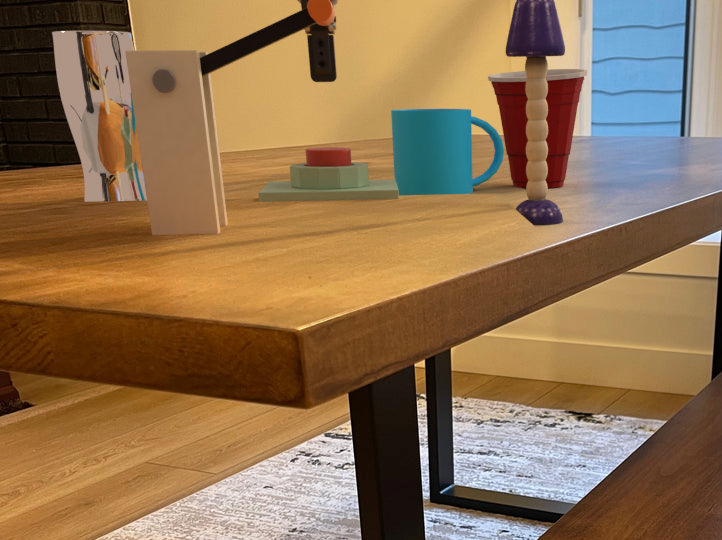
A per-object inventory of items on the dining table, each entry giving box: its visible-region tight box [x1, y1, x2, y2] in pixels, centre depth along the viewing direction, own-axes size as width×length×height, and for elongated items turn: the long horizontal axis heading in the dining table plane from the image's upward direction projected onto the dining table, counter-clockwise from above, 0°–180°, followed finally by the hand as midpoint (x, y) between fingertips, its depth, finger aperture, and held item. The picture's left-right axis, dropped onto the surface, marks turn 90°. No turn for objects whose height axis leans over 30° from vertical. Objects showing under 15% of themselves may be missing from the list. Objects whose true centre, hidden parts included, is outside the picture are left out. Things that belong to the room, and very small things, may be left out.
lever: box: [200, 0, 336, 77], centre depth 66 cm, size 13×6×2 cm, turn 97°
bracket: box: [125, 49, 229, 236], centre depth 68 cm, size 11×9×13 cm
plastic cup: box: [487, 68, 588, 189], centre depth 109 cm, size 11×11×12 cm
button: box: [305, 146, 352, 167], centre depth 90 cm, size 4×4×2 cm
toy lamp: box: [505, 0, 566, 226], centre depth 80 cm, size 5×5×17 cm
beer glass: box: [51, 30, 147, 203], centre depth 91 cm, size 7×7×15 cm
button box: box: [257, 161, 400, 203], centre depth 91 cm, size 12×10×4 cm
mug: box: [390, 108, 505, 196], centre depth 104 cm, size 12×8×8 cm
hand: (324, 81), depth 87 cm, fingers closed
